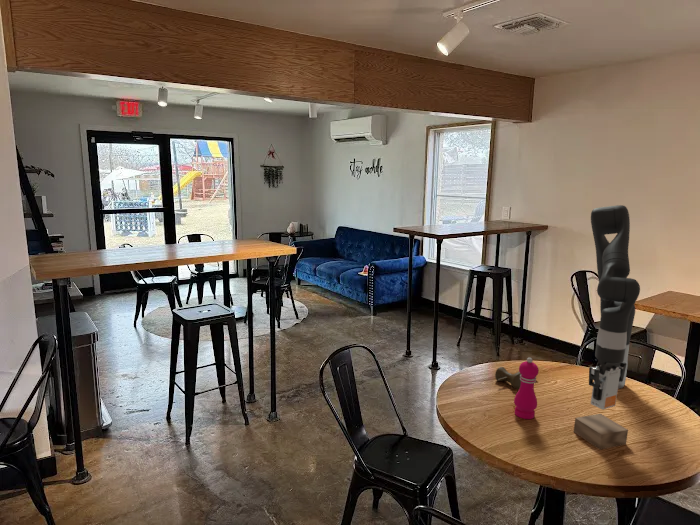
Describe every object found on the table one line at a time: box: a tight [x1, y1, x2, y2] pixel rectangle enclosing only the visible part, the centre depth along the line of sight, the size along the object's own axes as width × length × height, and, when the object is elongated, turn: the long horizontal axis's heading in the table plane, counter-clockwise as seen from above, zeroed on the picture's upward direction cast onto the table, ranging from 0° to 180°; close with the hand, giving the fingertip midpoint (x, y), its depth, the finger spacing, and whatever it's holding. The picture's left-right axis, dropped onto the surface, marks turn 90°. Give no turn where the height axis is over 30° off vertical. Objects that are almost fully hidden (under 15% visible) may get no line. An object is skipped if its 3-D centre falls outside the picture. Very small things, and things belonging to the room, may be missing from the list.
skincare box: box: [590, 368, 621, 411], centre depth 139 cm, size 6×4×12 cm
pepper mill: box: [513, 357, 539, 420], centre depth 153 cm, size 7×7×20 cm
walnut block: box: [573, 413, 629, 450], centre depth 141 cm, size 10×10×5 cm
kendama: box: [494, 366, 521, 390], centre depth 180 cm, size 6×10×20 cm
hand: (604, 397), depth 139 cm, fingers closed on skincare box, 6 cm apart
